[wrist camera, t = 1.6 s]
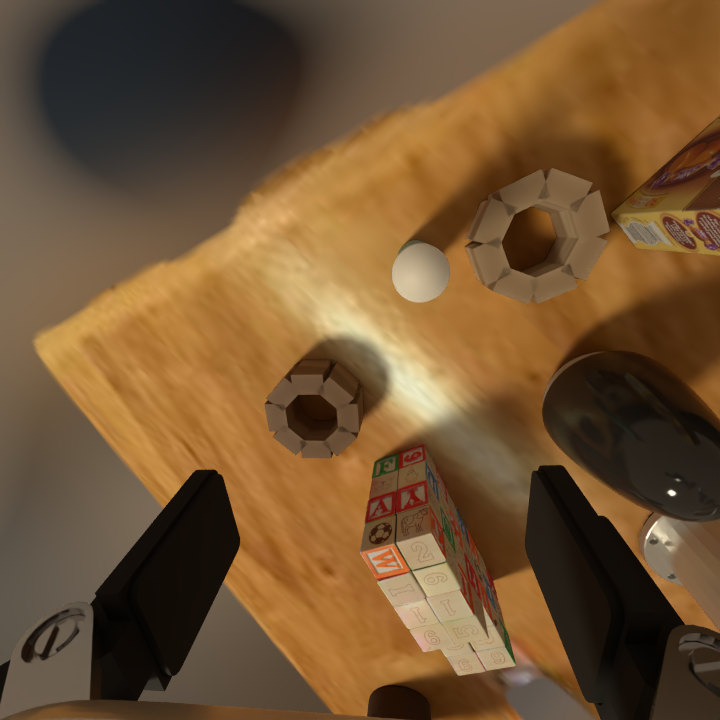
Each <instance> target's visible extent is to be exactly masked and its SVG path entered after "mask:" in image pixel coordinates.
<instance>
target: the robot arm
mask: <svg viewBox="0 0 720 720" xmlns="http://www.w3.org/2000/svg"><path fill="white" fill-rule="evenodd" d="M239 546H240V536H239V533H238V529H237V526H236V522H235V518H234V515H233V511H232V508H231V504H230V501H229V497H228V494H227V490H226V486H225V483H224V479H223V477H222V475H220V474H218V472H217V471H216V470H196V471H195V472H194V473H193V474H192V475H191V476H190V477H189V479H188V480H187V481H186V482H185V483H184V485H183V486H182V487H181V488H180V490H179V491H178V492H177V493H176V494H175V496H174V497H173V498H172V499H171V501H170V502H169V503H168V504H167V505H166V507H165V508H164V509H163V510H162V512H161V513H160V514H159V515H158V516H157V518H156V519H155V520H154V521H153V523H152V524H151V525H150V526H149V528H148V529H147V530H146V531H145V533H144V534H143V535H142V536H141V537H140V539H139V540H138V541H137V542H136V543H135V545H134V546H133V547H132V548H131V550H130V551H129V552H128V553H127V555H126V556H125V557H124V558H123V559H122V561H121V562H120V563H119V564H118V565H117V567H116V568H115V569H114V570H113V572H112V573H111V574H110V575H109V577H108V578H107V579H106V580H105V581H104V583H103V584H102V585H101V586H100V588H99V589H98V590H97V591H96V593H95V594H96V598H95V599H94V600H93V601H92V603H91V604H88V603H87V602H80V601H78V602H73V603H69V604H66V605H64V606H61V607H59V608H57V609H55V610H53V611H52V612H50V613H48V614H47V615H45V616H44V617H43V618H42V619H40V620H39V621H38V622H36V623H35V624H34V625H33V626H32V627H31V628H30V629H29V630H28V631H27V632H26V633H25V634H24V635H23V637H22V638H21V640H20V641H19V642H18V644H17V645H16V647H15V649H14V652H13V654H12V657H11V660H9V661H8V662H6V663H4V664H3V665H1V666H0V720H404V719H391V718H378V717H365V716H352V715H338V714H325V713H311V712H297V711H284V710H269V709H257V708H241V707H227V706H213V705H198V704H184V703H169V702H148V701H138V698H139V697H140V695H141V693H142V691H143V689H144V690H154V691H165V690H166V688H167V686H168V684H169V681H170V680H171V677H172V676H174V675H176V674H177V673H178V672H179V671H180V669H181V667H182V665H183V663H184V661H185V659H186V657H187V655H188V653H189V651H190V649H191V647H192V645H193V643H194V641H195V638H196V636H197V634H198V632H199V630H200V628H201V626H202V624H203V622H204V620H205V618H206V616H207V614H208V611H209V610H210V607H211V605H212V603H213V601H214V599H215V597H216V595H217V593H218V591H219V589H220V587H221V585H222V583H223V581H224V579H225V576H226V574H227V572H228V570H229V568H230V566H231V564H232V562H233V560H234V558H235V556H236V554H237V552H238V549H239ZM639 546H640V551H641V554H642V556H643V557H644V559H645V561H646V562H647V563H648V565H649V566H650V567H651V569H652V570H653V571H654V572H655V573H657V574H658V575H659V576H660V577H662V578H664V579H665V580H667V581H670V582H673V583H675V584H678V585H683V586H684V587H685V588H686V589H687V591H688V592H689V593H690V594H691V596H692V597H693V598H694V599H695V601H696V602H697V603H698V605H699V606H700V607H701V608H702V610H703V611H704V612H705V613H706V615H707V616H708V617H709V619H710V620H711V621H712V622H713V624H714V625H715V626H716V627H717V629H718V630H719V631H720V519H718V520H715V521H710V522H702V523H694V522H685V521H680V520H676V519H672V518H668V517H665V516H662V515H659V514H656V513H653V514H652V515H651V516H650V517H649V519H648V520H647V522H646V523H645V525H644V526H643V528H642V531H641V534H640V540H639ZM525 547H526V552H527V555H528V558H529V561H530V563H531V566H532V568H533V571H534V573H535V576H536V578H537V581H538V583H539V586H540V588H541V591H542V593H543V596H544V598H545V601H546V603H547V606H548V608H549V611H550V613H551V616H552V618H553V621H554V623H555V626H556V629H557V631H558V634H559V636H560V639H561V641H562V644H563V646H564V649H565V651H566V654H567V656H568V659H569V661H570V664H571V666H572V669H573V671H574V674H575V676H576V679H577V681H578V684H579V686H580V689H581V691H582V694H583V696H584V698H585V699H586V701H587V702H589V703H594V704H595V706H596V709H597V711H598V714H599V716H600V719H601V720H720V633H718V632H715V631H713V630H711V629H708V628H705V627H700V626H696V625H685V624H684V622H683V621H682V620H681V618H680V617H679V616H678V614H677V613H676V611H675V610H674V609H673V607H672V606H671V604H670V603H669V602H668V600H667V599H666V598H665V596H664V595H663V593H662V592H661V591H660V589H659V588H658V586H657V585H656V584H655V582H654V581H653V580H652V578H651V577H650V575H649V574H648V573H647V571H646V570H645V569H644V567H643V566H642V564H641V563H640V562H639V560H638V559H637V557H636V556H635V555H634V553H633V552H632V551H631V549H630V548H629V546H628V545H627V544H626V542H625V541H624V539H623V538H622V537H621V535H620V534H619V533H618V531H617V530H616V528H615V527H614V526H613V524H612V523H611V522H610V521H609V520H608V519H607V518H606V517H604V516H598V515H597V513H596V512H595V510H594V509H593V508H592V506H591V505H590V503H589V502H588V500H587V499H586V497H585V496H584V495H583V493H582V492H581V490H580V489H579V487H578V486H577V485H576V483H575V482H574V480H573V479H572V477H571V476H570V474H569V473H568V472H567V470H566V469H565V468H564V467H563V466H562V465H549V466H540V467H539V468H538V471H533V472H532V478H531V488H530V497H529V507H528V517H527V526H526V536H525Z"/></svg>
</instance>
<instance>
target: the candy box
mask: <svg viewBox="0 0 720 720" xmlns="http://www.w3.org/2000/svg"><path fill="white" fill-rule="evenodd" d="M611 217H612V218H613V219H614V220H615V221H616V223H617V224H618V225H619V226H620V227H621V228H622V230H623V231H624V232H625V233H626V235H627V236H628V237H629V239H630V240H631V241H632V242H633V244H634V245H635V246H636V247H637V248H638V249H650V250H665V251H676V252H687V253H700V254H710V255H720V119H716V120H715V121H714V122H713V123H712V124H711V125H710V126H708V127H707V128H706V129H705V130H704V131H703V132H701V133H700V134H699V135H698V136H697V137H696V138H695V139H694V140H692V141H691V142H690V143H689V144H688V145H687V146H686V147H685V148H684V149H683V150H682V151H681V152H680V153H678V154H677V155H676V156H675V157H674V158H673V159H672V160H670V161H669V162H668V163H667V164H666V165H665V166H664V167H663V168H661V169H660V170H659V171H658V172H657V173H656V174H655V175H654V176H653V177H652V178H651V179H649V180H648V181H647V182H646V183H645V184H644V185H643V186H642V187H641V188H639V189H638V190H637V191H636V192H635V193H634V194H632V195H631V196H630V197H629V198H628V199H627V200H626V201H624V202H623V203H622V204H621V205H620V206H619V207H618V208H617V209H616V210H614V211H613V212H612V213H611Z"/></svg>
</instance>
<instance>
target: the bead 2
mask: <svg viewBox="0 0 720 720" xmlns="http://www.w3.org/2000/svg"><path fill="white" fill-rule="evenodd" d="M592 184H593V183H592V182H589V181H587V180H584V179H581V178H579V177H576V176H573V175H570V174H568V173H565V172H562V171H560V170H557V169H554V168H551V169H548V170H546V171H544V172H543V171H542V169H540V170H538V171H536V172H534V173H532V174H530V175H527V176H525V177H523V178H521V179H519V180H517V181H515V182H513V183H511V184H509V185H507V186H505V187H503V188H501V189H499V190H497V191H495V192H493V193H491V194H489V195H487V197H488V200H486V201H483V202H481V203H480V205H479V208H478V210H477V212H476V215H475V217H474V219H473V221H472V224H471V226H470V228H469V231H468V233H467V235H466V238H465V239H467V240H470V241H473V242H474V243H472V244H470V245H468V246H466V247H465V249H466V251H467V254H468V257H469V259H470V262H471V265H472V267H473V270H474V273H475V275H476V278H477V279H478V280H479V281H481V282H482V284H483V285H484V286H486V287H487V288H489V289H490V290H492V291H494V292H496V293H499V294H502V295H505V296H507V297H510V298H513V299H516V300H518V301H521V302H524V303H526V304H529V302H530V300H531V301H533V302H535V303H537V304H538V303H541V302H543V301H546V300H548V299H551V298H553V297H555V296H558V295H560V294H563V293H565V292H568V291H570V290H573V289H575V288H578V287H577V283H576V280H575V278H577V279H581V280H584V281H586V279H587V277H588V275H589V274H590V272H591V270H592V269H593V267H594V265H595V263H596V262H597V260H598V258H599V257H600V255H601V253H602V251H603V250H604V248H605V246H606V244H607V243H608V241H607V240H604V239H601V238H599V237H598V236H600V235H603V234H605V233H607V232H609V231H610V229H609V225H608V221H607V217H606V213H605V210H604V206H603V202H602V198H601V194H600V191H599V190H596V191H592V192H588V191H589V189H590V187H591V186H592ZM529 207H534V208H537V209H540V210H542V211H545V212H548V213H550V216H551V220H552V223H553V226H554V229H555V233H556V236H557V238H556V240H555V242H554V244H553V246H552V247H551V249H550V251H549V253H548V255H547V257H546V259H545V261H544V262H542V263H540V264H537V265H535V266H533V267H530V268H528V269H526V270H523V271H521V272H519V271H516V270H513V269H511V268H510V266H509V263H508V261H507V258H506V255H505V252H504V249H503V246H502V244H501V242H502V240H503V238H504V236H505V234H506V231H507V229H508V227H509V225H510V223H511V221H512V219H513V216H514V214H516V213H518V212H520V211H522V210H525V209H527V208H529Z"/></svg>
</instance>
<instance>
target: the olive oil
mask: <svg viewBox="0 0 720 720" xmlns="http://www.w3.org/2000/svg"><path fill="white" fill-rule="evenodd" d="M367 717H378V718H391V719H404V720H431V712H430V706H429V703H428V702H427V700H426V699H425V698H424V697H423V696H422V695H420V694H419V693H417V692H416V691H413V690H411V689H408V688H405V687H399V686H388V687H383V688H380V689H377V690H376V691H374V692H373V693H372V694H371V696H370V698H369V704H368V714H367Z"/></svg>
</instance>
